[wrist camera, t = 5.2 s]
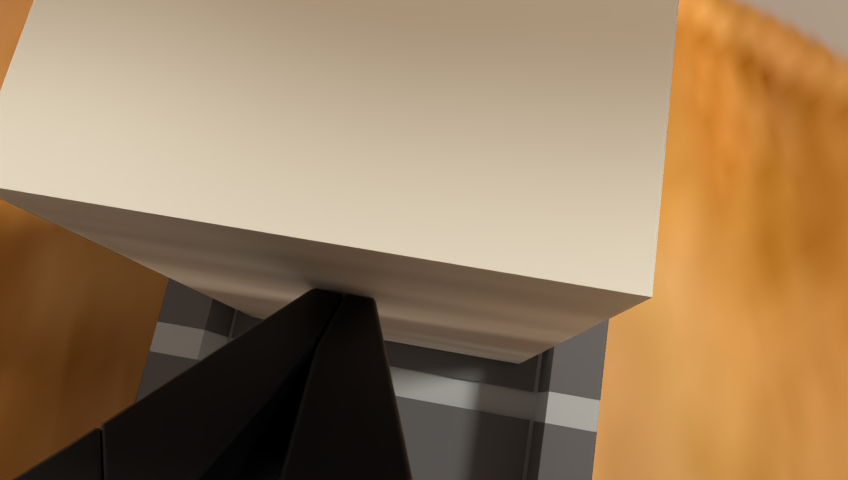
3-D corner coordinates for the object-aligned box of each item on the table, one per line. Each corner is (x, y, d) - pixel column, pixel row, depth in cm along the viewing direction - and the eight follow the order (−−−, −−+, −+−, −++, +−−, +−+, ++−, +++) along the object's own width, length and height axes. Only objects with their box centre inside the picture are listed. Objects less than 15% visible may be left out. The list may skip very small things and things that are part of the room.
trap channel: (517, 904, 12) (535, 1014, 10) (76, 802, 13) (1, 885, 11) (610, 101, 17) (636, 55, 14) (271, 51, 17) (246, -2, 15)
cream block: (519, 363, 14) (652, 297, 5) (252, 316, 14) (-33, 183, 6) (542, 191, 15) (688, -105, 6) (292, 152, 15) (101, -180, 7)
